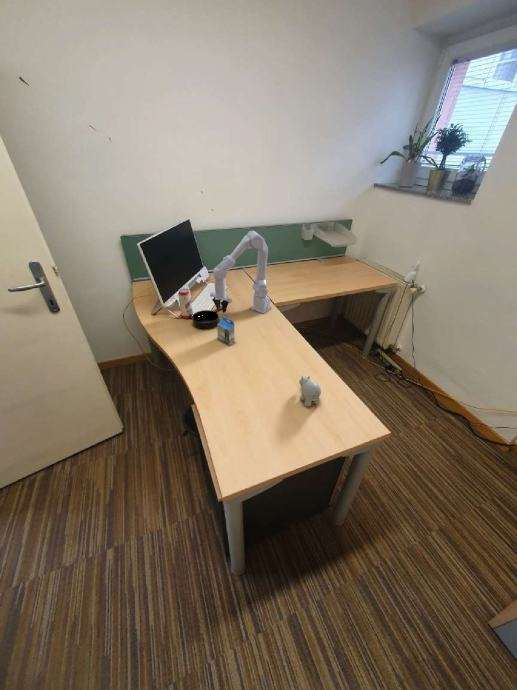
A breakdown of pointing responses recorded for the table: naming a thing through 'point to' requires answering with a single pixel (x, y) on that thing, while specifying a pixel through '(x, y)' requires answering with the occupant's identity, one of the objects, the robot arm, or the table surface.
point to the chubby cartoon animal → (309, 391)
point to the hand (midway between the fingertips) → (221, 310)
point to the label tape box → (226, 330)
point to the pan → (206, 319)
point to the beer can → (185, 303)
